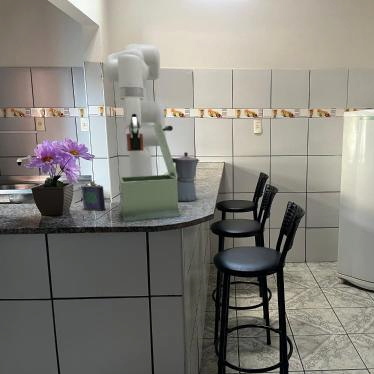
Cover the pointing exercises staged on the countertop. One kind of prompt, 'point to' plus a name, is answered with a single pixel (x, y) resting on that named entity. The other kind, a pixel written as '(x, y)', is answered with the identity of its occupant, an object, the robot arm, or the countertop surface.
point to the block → (129, 142)
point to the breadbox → (148, 197)
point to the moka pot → (185, 177)
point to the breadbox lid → (165, 148)
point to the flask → (93, 197)
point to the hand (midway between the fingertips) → (135, 149)
